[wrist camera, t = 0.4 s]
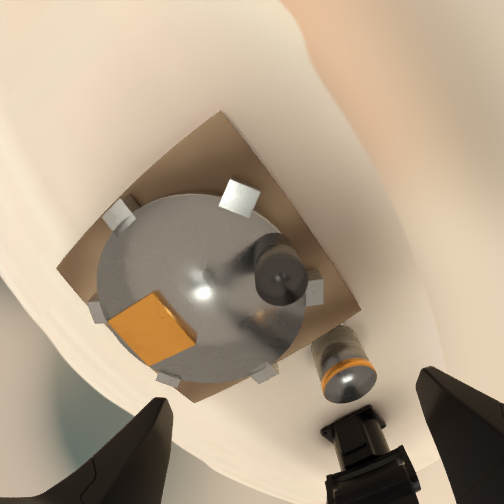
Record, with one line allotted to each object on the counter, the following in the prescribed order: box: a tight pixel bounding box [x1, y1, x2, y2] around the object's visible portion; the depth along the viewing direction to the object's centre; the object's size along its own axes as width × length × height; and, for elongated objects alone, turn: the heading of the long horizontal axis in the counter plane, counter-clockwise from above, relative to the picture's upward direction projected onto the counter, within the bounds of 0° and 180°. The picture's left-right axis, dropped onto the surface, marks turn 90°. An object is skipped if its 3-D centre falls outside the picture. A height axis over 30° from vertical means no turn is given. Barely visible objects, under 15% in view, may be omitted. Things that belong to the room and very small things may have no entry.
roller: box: [311, 326, 377, 403], centre depth 20 cm, size 4×4×5 cm
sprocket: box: [87, 177, 323, 388], centre depth 16 cm, size 16×15×6 cm
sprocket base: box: [56, 111, 361, 403], centre depth 20 cm, size 17×17×1 cm
